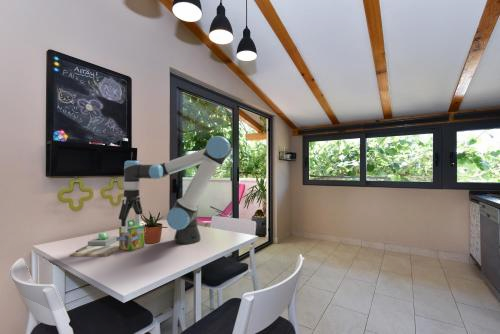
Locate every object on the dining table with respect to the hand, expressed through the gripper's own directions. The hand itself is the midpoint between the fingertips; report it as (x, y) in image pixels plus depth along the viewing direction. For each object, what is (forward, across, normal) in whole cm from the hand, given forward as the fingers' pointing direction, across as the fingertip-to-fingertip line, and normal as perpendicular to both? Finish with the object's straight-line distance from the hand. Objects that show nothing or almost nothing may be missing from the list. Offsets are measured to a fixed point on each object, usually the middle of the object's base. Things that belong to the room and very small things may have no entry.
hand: (131, 229), depth 133 cm
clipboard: (+10, +6, -14) cm, 19 cm away
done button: (+8, -6, -19) cm, 22 cm away
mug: (+10, -22, -7) cm, 25 cm away
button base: (+10, -6, -19) cm, 23 cm away
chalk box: (+10, 0, +1) cm, 10 cm away
